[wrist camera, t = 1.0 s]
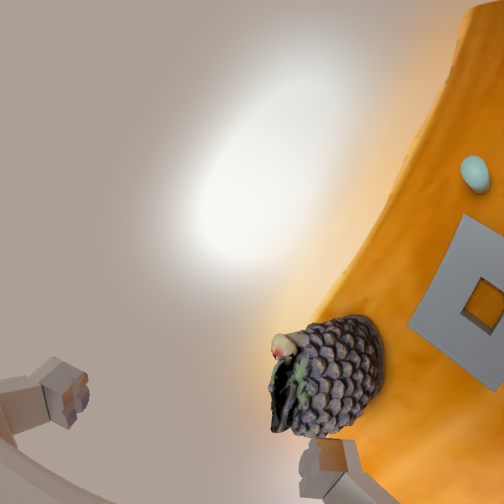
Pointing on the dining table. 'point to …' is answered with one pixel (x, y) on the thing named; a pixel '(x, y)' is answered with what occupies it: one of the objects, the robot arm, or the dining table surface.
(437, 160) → the dining table surface
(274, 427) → the decorative house
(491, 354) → the cutout board
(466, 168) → the peg
